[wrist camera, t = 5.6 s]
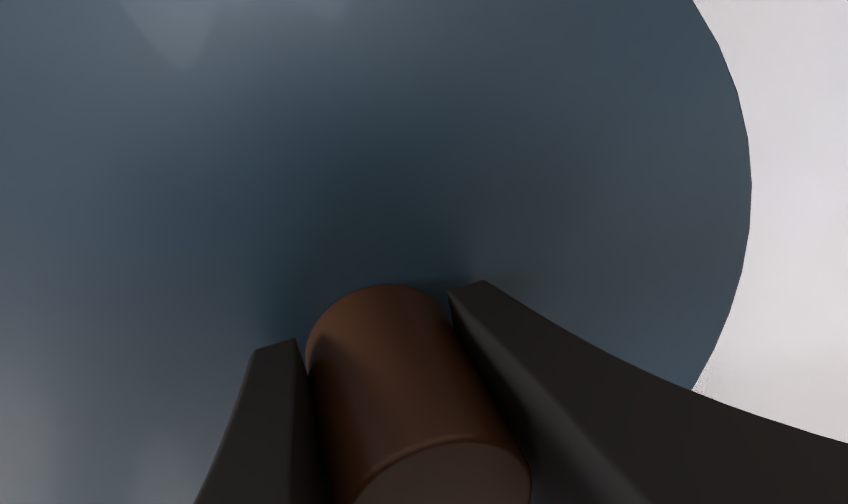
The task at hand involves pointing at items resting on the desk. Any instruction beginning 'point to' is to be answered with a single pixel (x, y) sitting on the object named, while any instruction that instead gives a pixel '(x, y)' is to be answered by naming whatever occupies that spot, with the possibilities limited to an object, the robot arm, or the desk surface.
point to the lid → (343, 224)
